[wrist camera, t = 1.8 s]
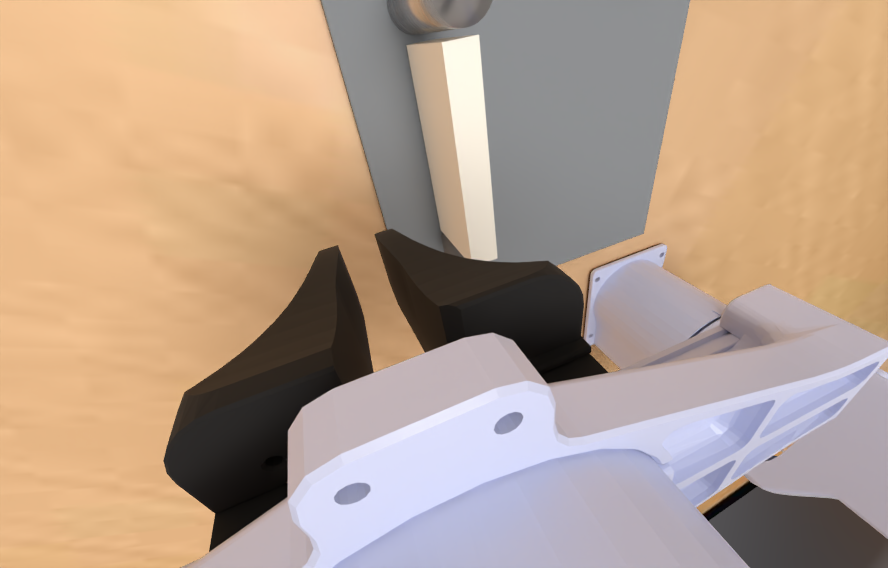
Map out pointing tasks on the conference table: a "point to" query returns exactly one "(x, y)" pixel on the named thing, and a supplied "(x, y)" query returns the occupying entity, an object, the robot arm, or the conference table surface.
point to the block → (456, 141)
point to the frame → (436, 14)
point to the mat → (526, 117)
